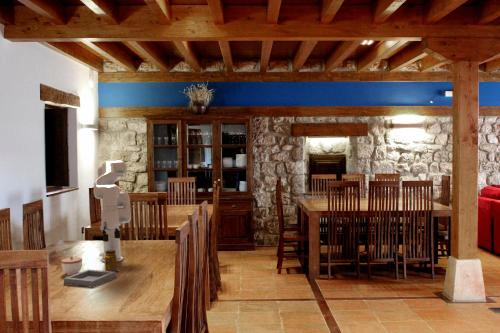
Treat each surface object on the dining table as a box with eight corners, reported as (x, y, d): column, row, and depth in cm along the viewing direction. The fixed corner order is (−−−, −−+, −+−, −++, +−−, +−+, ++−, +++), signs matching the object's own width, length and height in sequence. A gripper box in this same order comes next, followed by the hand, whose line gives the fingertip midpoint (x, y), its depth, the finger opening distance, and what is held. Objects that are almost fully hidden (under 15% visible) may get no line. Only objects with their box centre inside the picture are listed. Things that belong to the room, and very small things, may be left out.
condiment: (102, 272, 259) (101, 251, 258) (115, 269, 265) (114, 248, 265) (109, 274, 254) (109, 252, 254) (123, 271, 261) (122, 249, 260)
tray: (63, 284, 238) (63, 278, 238) (88, 274, 255) (88, 269, 255) (92, 287, 231) (92, 281, 231) (116, 277, 248) (115, 271, 248)
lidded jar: (86, 271, 262) (86, 254, 262) (73, 276, 252) (72, 259, 252) (70, 270, 266) (70, 253, 265) (57, 275, 256) (56, 258, 255)
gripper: (114, 206, 268) (115, 236, 268) (94, 210, 252) (95, 242, 252) (125, 206, 265) (126, 237, 265) (105, 210, 249) (106, 243, 249)
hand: (111, 239), depth 259 cm, fingers open, 9 cm apart
